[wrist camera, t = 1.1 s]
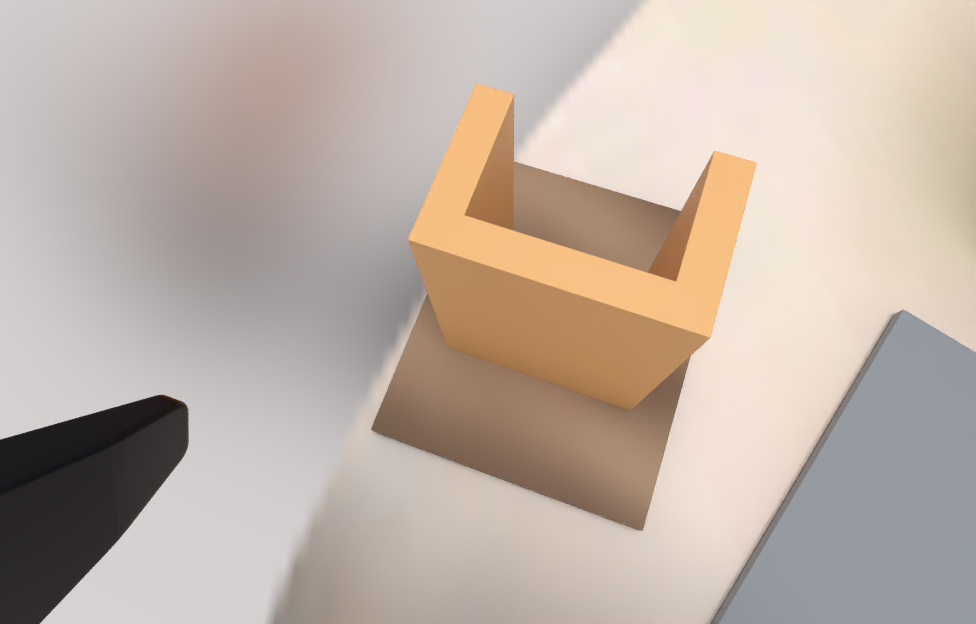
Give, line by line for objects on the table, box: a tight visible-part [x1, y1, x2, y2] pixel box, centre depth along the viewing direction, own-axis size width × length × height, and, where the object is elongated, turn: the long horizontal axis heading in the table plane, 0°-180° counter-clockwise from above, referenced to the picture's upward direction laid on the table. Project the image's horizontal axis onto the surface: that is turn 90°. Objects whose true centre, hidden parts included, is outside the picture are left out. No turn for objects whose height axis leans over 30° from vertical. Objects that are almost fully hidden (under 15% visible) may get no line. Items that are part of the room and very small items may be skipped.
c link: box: [408, 84, 757, 411], centre depth 19 cm, size 4×7×10 cm, turn 70°
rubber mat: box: [711, 310, 976, 624], centre depth 21 cm, size 14×12×1 cm
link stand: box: [371, 162, 690, 531], centre depth 22 cm, size 12×10×4 cm
